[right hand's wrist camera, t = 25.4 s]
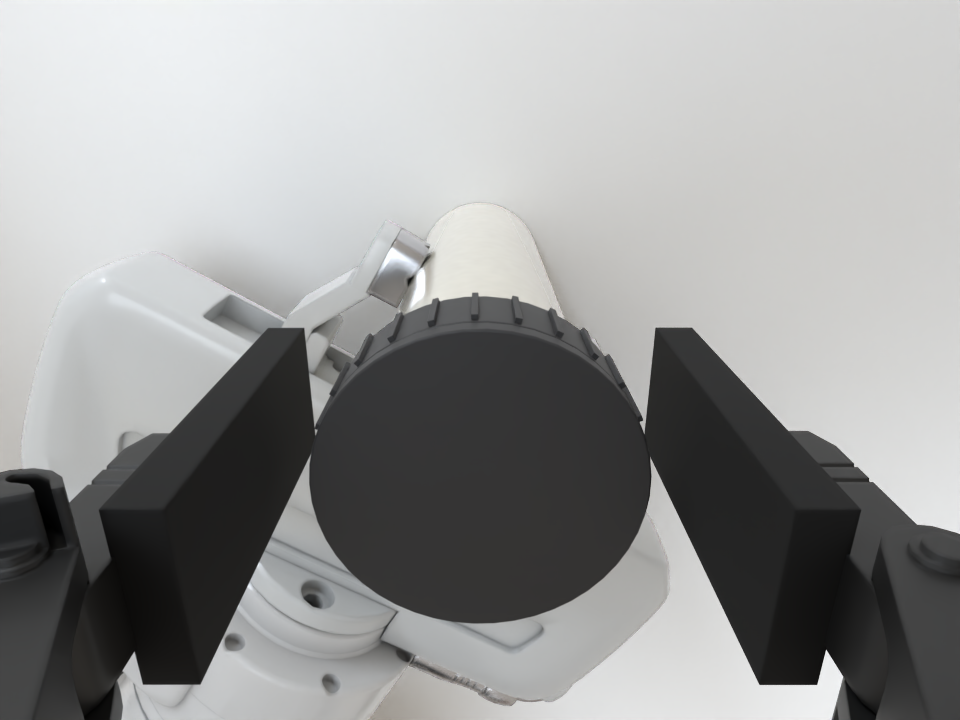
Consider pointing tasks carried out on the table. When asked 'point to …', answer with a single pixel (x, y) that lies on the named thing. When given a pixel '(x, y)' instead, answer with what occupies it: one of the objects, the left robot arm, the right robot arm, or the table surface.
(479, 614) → the lid
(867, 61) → the table surface
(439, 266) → the cream cylinder
